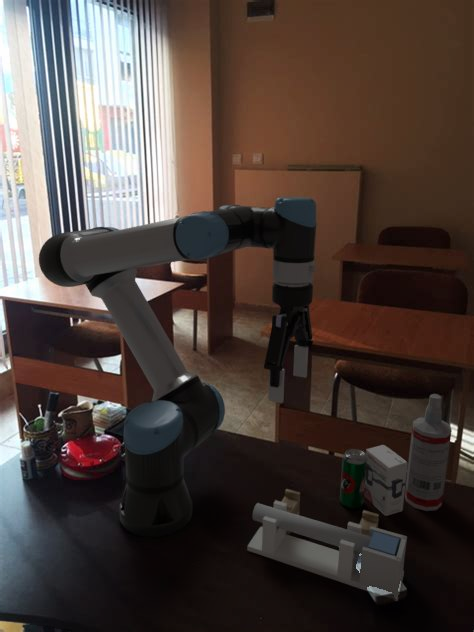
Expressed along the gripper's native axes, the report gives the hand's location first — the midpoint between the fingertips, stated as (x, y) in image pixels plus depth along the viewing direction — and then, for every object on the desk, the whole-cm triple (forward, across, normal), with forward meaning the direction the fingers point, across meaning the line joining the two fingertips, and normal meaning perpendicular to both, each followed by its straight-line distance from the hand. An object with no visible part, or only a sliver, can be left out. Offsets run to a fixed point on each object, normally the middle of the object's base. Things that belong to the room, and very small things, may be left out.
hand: (288, 388), depth 106 cm
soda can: (+29, +10, -12) cm, 33 cm away
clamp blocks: (+29, -3, -9) cm, 30 cm away
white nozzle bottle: (+29, +18, -26) cm, 43 cm away
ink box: (+29, +13, -18) cm, 36 cm away
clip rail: (+29, -11, -12) cm, 33 cm away
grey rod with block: (+24, -10, -11) cm, 28 cm away
